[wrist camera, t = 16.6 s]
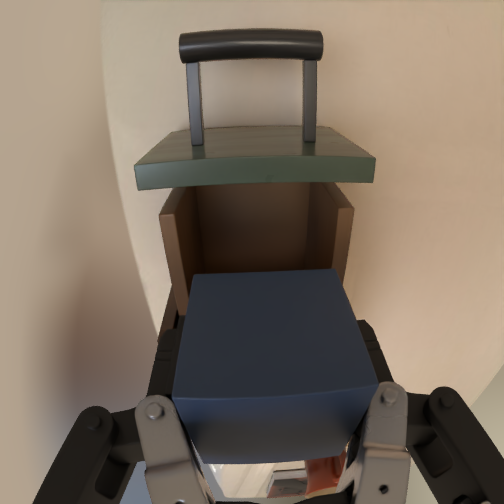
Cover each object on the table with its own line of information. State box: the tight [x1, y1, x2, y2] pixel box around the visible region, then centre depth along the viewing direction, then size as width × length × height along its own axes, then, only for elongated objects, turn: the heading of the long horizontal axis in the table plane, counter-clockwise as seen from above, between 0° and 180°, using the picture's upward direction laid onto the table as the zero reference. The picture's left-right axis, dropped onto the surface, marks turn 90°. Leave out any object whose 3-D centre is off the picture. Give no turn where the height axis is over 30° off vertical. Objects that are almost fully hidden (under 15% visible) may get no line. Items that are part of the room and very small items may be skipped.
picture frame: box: [266, 469, 307, 498], centre depth 59 cm, size 16×2×22 cm
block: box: [172, 269, 379, 464], centre depth 10 cm, size 5×5×5 cm
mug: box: [304, 447, 347, 498], centre depth 41 cm, size 12×9×10 cm
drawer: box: [134, 28, 376, 316], centre depth 18 cm, size 19×10×8 cm, turn 1°
